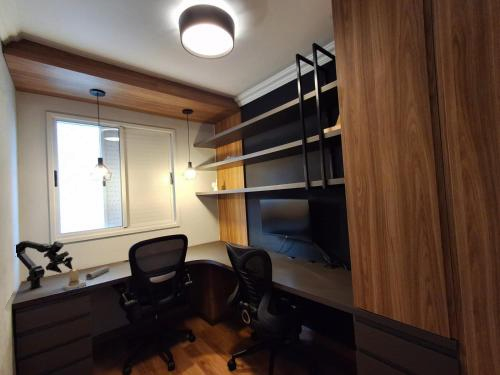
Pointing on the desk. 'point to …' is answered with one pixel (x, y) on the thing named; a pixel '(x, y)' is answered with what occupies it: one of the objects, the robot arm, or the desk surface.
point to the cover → (73, 276)
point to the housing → (73, 285)
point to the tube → (97, 272)
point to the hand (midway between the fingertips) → (66, 270)
